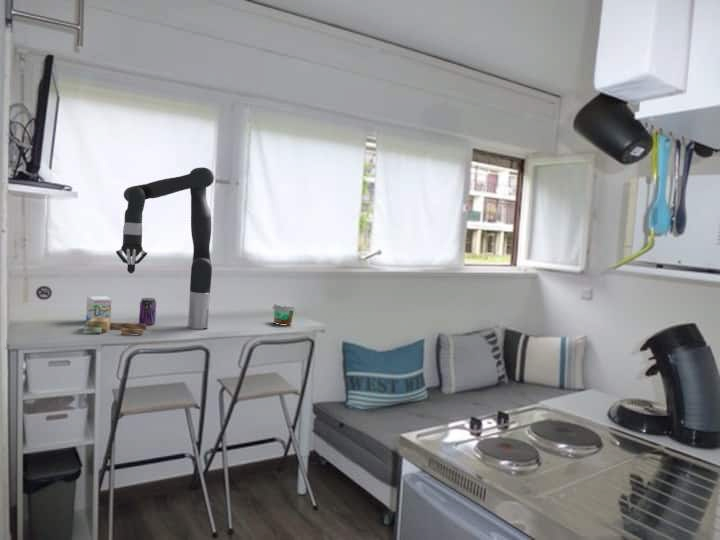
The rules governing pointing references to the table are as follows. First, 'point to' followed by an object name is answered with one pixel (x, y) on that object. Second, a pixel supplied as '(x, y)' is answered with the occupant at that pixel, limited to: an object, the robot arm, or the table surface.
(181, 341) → the table surface
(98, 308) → the ink box
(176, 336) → the table surface
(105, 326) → the block
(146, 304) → the beverage can
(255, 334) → the table surface
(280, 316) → the food container
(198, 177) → the robot arm
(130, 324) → the channel
